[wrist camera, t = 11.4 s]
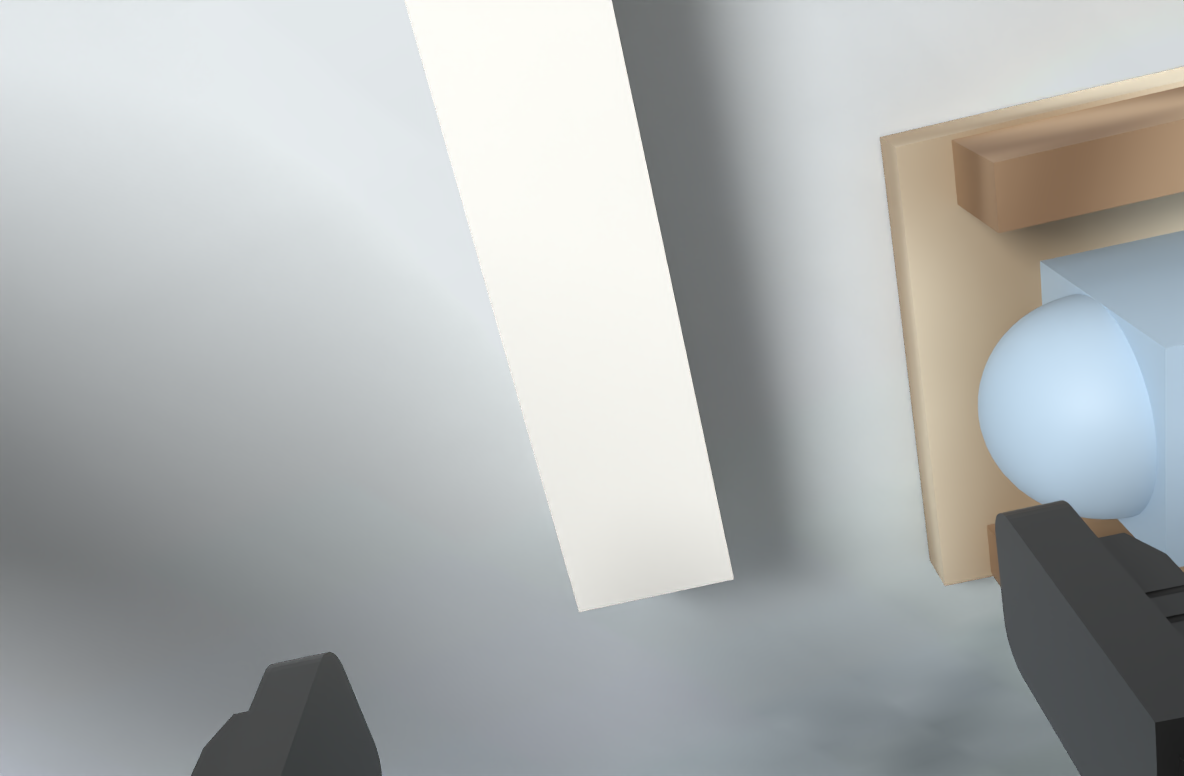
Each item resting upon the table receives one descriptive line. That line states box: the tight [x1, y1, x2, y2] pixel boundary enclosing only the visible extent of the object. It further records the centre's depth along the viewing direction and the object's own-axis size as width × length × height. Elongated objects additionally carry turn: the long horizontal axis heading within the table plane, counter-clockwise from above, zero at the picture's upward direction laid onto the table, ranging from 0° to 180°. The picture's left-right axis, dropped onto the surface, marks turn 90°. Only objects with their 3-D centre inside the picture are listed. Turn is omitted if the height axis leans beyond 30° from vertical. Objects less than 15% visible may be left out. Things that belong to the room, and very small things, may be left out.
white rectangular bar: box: [404, 0, 734, 612], centre depth 19 cm, size 3×16×4 cm, turn 13°
